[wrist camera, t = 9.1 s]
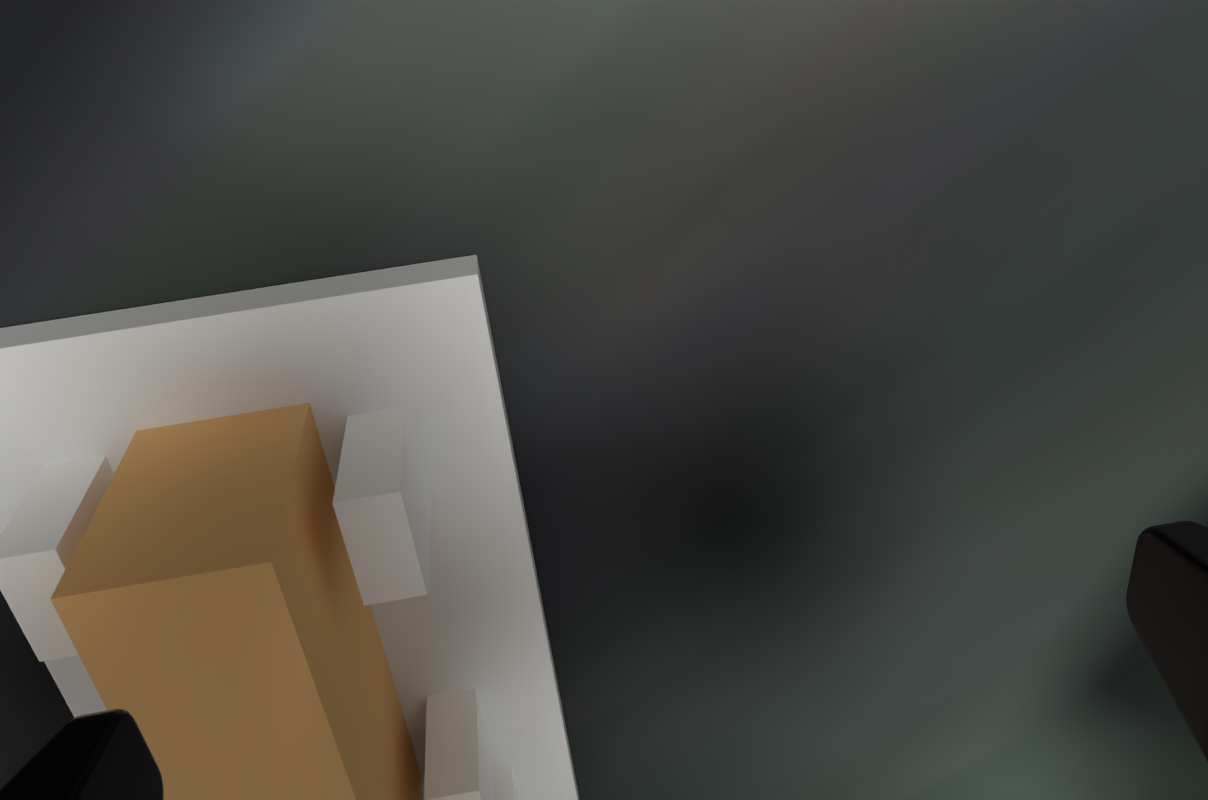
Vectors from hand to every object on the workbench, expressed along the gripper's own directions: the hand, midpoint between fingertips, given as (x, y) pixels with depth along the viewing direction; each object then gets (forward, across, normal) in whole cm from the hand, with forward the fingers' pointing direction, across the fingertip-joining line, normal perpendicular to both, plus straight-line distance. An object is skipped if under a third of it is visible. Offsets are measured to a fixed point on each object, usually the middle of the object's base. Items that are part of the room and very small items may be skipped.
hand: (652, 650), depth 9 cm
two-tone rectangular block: (+12, +7, +11) cm, 17 cm away
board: (+13, +7, +11) cm, 18 cm away
